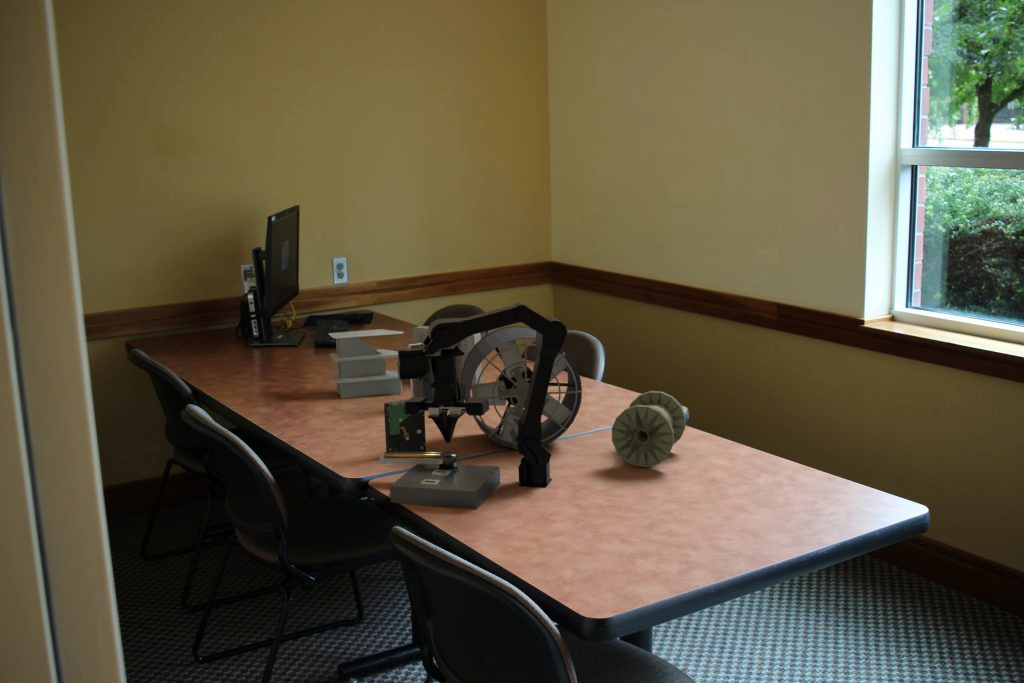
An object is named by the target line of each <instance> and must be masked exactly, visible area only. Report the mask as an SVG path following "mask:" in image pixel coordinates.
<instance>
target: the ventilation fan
mask: <svg viewBox="0 0 1024 683" xmlns="http://www.w3.org/2000/svg"><path fill="white" fill-rule="evenodd" d="M522 339H523V340H524V343H522V344H517V343H516V340H522ZM527 339H531V340H536V331H535V330H533V329H532V328H530V327H529V326H526V325H525V326H522V325H521V326H519V325H512V326H511V325H510V326H504V327H500V328H497V329H494V330H492V331H491V332H488V334H486V335H484V336H483V337H481V340H480V341H479V342H477V343H476V344H475V346H474V347H473V348H472V350H471V351H470V352H469V354H468V356H467V358H466V360H465V362H464V365H463V369H462V373H461V384H462V385H464V386H466V393H465V399H464V402H467V401H469V400H470V399H471V398H486V399H487V400H488V401H489V407H491V406H492V407H494V410H495V413H497V415H498V416H499V418H500V419H501V420H500V422H499V424H497V426H496V427H495V428H494V427H492V426H490V425H488V424H487V423H486V422H485V421H484V419H483V417H482V415H481V416H472V417H473V419H474V421H475V423H476V424H477V426H478V427H479V429H480V430H481V431H482V432H483V433H484V434H485V436H487V437H488V438H490V440H492V441H494V442H495V443H497V444H499V445H501V446H503V447H506V448H510V449H515V450H517V449H516V448H515V447H514V445H513V444H512V441H511V436H510V435H509V433H510V432H511V430H512V425H513V418H515V419H517V420H519V419H520V417H521V416H522V414H523V411H524V407H525V403H526V399H527V394H528V390H529V386H530V381H531V377H532V373H533V369H531V368H530V367H528V366H527V365H528V363H531V364H532V363H533V364H535V360H528V358H527V354H528V352H527V346H528V347H529V346H532V347H534V346H535V347H536V343H527ZM519 347H524V358H523V356H522V354H521V351H520V349H519ZM493 351H495V352H496V354H495V355H494V356H493V357H491V359H488V358H487V356H488V355H489V354H490V353H492V352H493ZM498 356H499V359H500V360H501V362H502V364H503V369H502V370H501V369H500V368H499V367H498V366H496V365H495V364H494V363H493V362H492V361H494V359H495V358H496V357H498ZM484 359H485V360H486V361H487V363H486V364H485V366H484V367H482V372H481V374H480V376H479V378H478V381H477V384H475V385H472V387H471V383H472V380H473V376H474V374H475V372H476V370H477V368H478V366H479V365H480V363H481V362H482V363H483V361H484ZM489 365H491V366H492V367H494V368H495V369H496V370H497V371H498V372H499V373H500V374H499V375H498V376H497V378H496V380H495V381H491V382H484V383H483V382H482V383H481V384H479V380H480V378H481V376H482V377H483V373H484V371H485V370H486V369H487V367H488V366H489ZM565 369H566V371H567V382H559V379H558V377H557V376H559V375H560V374H561V373H562V372H563V371H564V370H565ZM554 379H555V381H556V382H552V381H553V380H554ZM549 387H558V391H547V395H546V399H545V404H544V408H543V412H542V416H544V417H545V418H546V419H545V420H543V421H541V427H542V440H541V443H542V444H543V446H544V447H545V445H549V444H550V443H552V442H554V441H555V440H557V439H559V438H560V437H561V436H563V434H564V433H565V432H566V431H567V430H568V429H569V428H570V427H571V425H572V424H573V422H574V421H575V419H576V417H577V415H578V413H579V410H580V407H581V404H582V399H583V398H582V396H583V388H582V380H581V376H580V374H579V370H578V368H577V366H576V364H575V362H574V361H573V359H572V358H571V357H570V356H569V355H568V353H566V351H564V350H563V348H562V349H561V351H560V352H559V354H558V356H557V357H556V359H555V361H554V365H553V369H552V374H551V378H550V382H549ZM561 387H566V390H565V391H561ZM562 394H564V397H563V398H562V401H561V395H562ZM552 395H558V399H556V398H554V397H553V396H552ZM506 404H507V405H506ZM497 406H501V407H502V406H503V407H505V406H506V407H505V409H504V412H503V415H501V414H500V412H499V411H498V408H497ZM478 417H479V418H478Z"/></svg>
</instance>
